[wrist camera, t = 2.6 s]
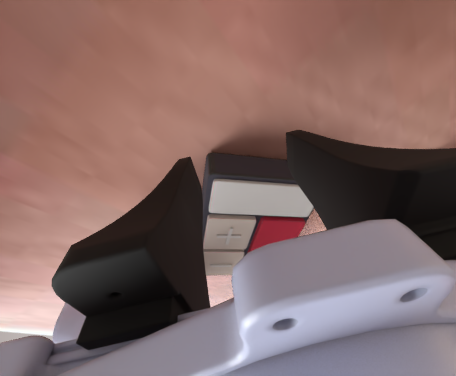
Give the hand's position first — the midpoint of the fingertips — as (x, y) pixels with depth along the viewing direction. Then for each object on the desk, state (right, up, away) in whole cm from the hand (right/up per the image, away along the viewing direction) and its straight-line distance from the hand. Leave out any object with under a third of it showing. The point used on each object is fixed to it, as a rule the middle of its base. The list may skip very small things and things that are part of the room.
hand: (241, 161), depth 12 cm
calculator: (+1, -4, +14) cm, 15 cm away
